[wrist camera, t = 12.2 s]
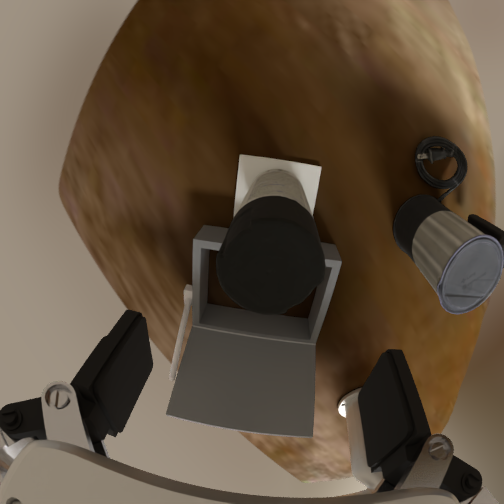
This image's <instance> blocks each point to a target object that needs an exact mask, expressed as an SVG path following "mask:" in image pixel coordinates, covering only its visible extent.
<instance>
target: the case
mask: <svg viewBox="0 0 504 504" xmlns="http://www.w3.org/2000/svg"><path fill="white" fill-rule="evenodd" d="M228 229H229V228H223V227H216V226H209V225H203V227H202V228H201V229H200V231H199V232H198V233H197V235H196V236H195V237H194V239H193V269H192V285H186V287H185V289H184V304H185V307H184V311H183V315H182V319H181V324H180V328H179V332H178V337H177V341H176V346H175V351H174V355H173V360H172V365H171V370H170V375H169V379H170V380H172V381H173V380H174V379H175V376H176V371H177V366H178V361H179V356H180V351H181V347H182V342H183V337H184V333H185V328H186V324H187V319H188V315H189V311H190V306H191V305H192V316H193V325H192V329H191V332H190V335H189V338H188V341H187V345H186V348H185V351H184V354H183V358H182V361H181V364H180V367H179V371H178V374H177V378H176V381H175V385H174V388H173V391H172V395H171V398H170V402H169V405H168V409H167V412H166V415H167V416H170V417H173V418H177V419H181V420H185V421H189V422H194V423H198V424H203V425H207V426H212V427H218V428H223V429H229V430H235V431H241V432H248V433H256V434H265V435H274V436H286V437H303V438H312V437H313V425H314V403H315V358H316V341H317V338H318V335H319V333H320V330H321V327H322V324H323V321H324V318H325V315H326V312H327V309H328V306H329V303H330V300H331V297H332V294H333V290H334V287H335V284H336V281H337V277H338V274H339V270H340V267H341V263H342V260H341V258H340V255H339V252H338V250H337V247H336V245H335V244H329V243H322V242H321V245H322V249H323V253H324V256H325V265H326V268H325V276H324V279H323V281H322V283H321V284H319V285H317V289H316V293H315V296H314V300H313V303H312V307H311V310H310V314H309V317H308V319H307V318H299V317H292V316H284V315H263V314H259V313H254V312H251V311H249V310H243V309H237V308H231V307H225V306H219V305H214V304H208V303H207V297H208V272H209V252H210V249H212V250H218V251H219V249H220V247H221V245H222V243H223V241H224V239H225V236H226V234H227V231H228Z"/></svg>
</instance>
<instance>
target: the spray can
mask: <svg viewBox="0 0 504 504" xmlns="http://www.w3.org/2000/svg"><path fill="white" fill-rule="evenodd" d="M325 268H326V265H325V256H324V253H323V249H322V245H321V242H320V238H319V234H318V230H317V226H316V223H315V221H314V218H313V215H312V212H311V209H310V206H309V203H308V200H307V198H306V195H305V192H304V189H303V186H302V184H301V182H300V181H299V179H298V178H297V177H296V176H295V175H294V174H292V173H291V172H289V171H286V170H283V169H270V170H267V171H264V172H262V173H261V174H260V175H258V176H257V177H256V178H255V180H254V181H253V183H252V184H251V186H250V188H249V190H248V192H247V194H246V196H245V197H244V199H243V201H242V203H241V205H240V207H239V208H238V210H237V212H236V214H235V216H234V218H233V220H232V222H231V225H230V227H229V229H228V231H227V234H226V236H225V239H224V241H223V243H222V245H221V247H220V249H219V252H218V253H217V257H216V272H217V276H218V279H219V282H220V285H221V287H222V289H223V290H224V292H225V293H226V294H227V295H228V296H229V297H230V298H231V299H232V300H233V301H234V302H235V303H236V304H238V305H239V306H241V307H243V308H244V309H246V310H249V311H251V312H254V313H259V314H263V315H278V314H284V313H286V312H287V310H288V309H289V308H291V307H293V306H295V305H298V304H300V303H301V302H303V301H304V300H305V299H306V298H307V297H308V296H309V295H310V294H311V292H312V290H313V289H314V288H315V287H316V286H317V285H319V284H321V283H322V281H323V279H324V276H325Z"/></svg>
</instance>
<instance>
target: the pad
mask: <svg viewBox="0 0 504 504" xmlns="http://www.w3.org/2000/svg"><path fill="white" fill-rule="evenodd" d="M270 169H283V170H286V171H289V172H291V173H292V174H294V175H295V176H296V177H297V178H298V179H299V181H300V182H301V184H302V186H303V189H304V192H305V195H306V198H307V200H308V203H309V206H310V209H311V212H312V215H313V211H314V206H315V201H316V195H317V190H318V184H319V179H320V173H321V166H316V165H310V164H305V163H299V162H293V161H286V160H280V159H273V158H265V157H258V156H250V155H241V154H240V158H239V167H238V176H237V186H236V195H235V205H234V215H233V216H235V214H236V212H237V210H238V208H239V207H240V205H241V203H242V201H243V199H244V197H245V196H246V194H247V192H248V190H249V188H250V186H251V184H252V183H253V181H254V180H255V178H256V177H257V176H258V175H260V174H261V173H262V172H264V171H267V170H270Z"/></svg>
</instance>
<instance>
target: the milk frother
mask: <svg viewBox="0 0 504 504" xmlns="http://www.w3.org/2000/svg"><path fill="white" fill-rule="evenodd" d="M433 146H440V147H441V148H430V147H433ZM442 147H443V148H442ZM444 148H445V149H444ZM446 157H454V158H455V159H456V161H457V165H458V167H457V171H456V173H455V174H454V176H453V177H452V178H450V179H448V180H439V179H436V178H434V177H432V176H431V175H430V174H429V173H428V172H427V171H426V169H425V168H424V165H423V160H424V159H428V160H429V161H430V163H431V164H433V161H436V160H440V159H443V158H444V159H446ZM415 162H416V167H417V170H418V172H419V174H420V176H421V177H422V178H423V179H424V181H425V182H426V183H428V184H429V185H430V186H433V187H435V188H439V189H448V188H450V189H449V190H448V191H447V192H445V193H444V194H442V195H441V196H440V197H439V198H438V199H436V198H435V197H433V196H430V195H417V196H414V197H412V198H410V199H409V200H408V201H406V202H405V203H404V204H403V205H402V206H401V208H400V209H399V211H398V212H397V214H396V217H395V221H394V227H393V233H394V238H395V241H396V243H397V245H398V246H399V248H400V249H401V250H402V251H403V252H405V253H407V254H408V255H409V257H410V258H411V259H412V260H413V261H414V263H415V264H416V265H417V267H418V268H419V269H420V271H421V272H422V274H423V275H424V276H425V278H426V279H427V280H428V282H429V283H430V285H431V286H432V287H433V289H434V290H435V292H436V293H437V295H438V296H439V300H440V303H441V305H442V307H443V308H444V309H445V310H446V311H448V312H449V313H453V314H462V313H466V312H469V311H471V310H473V309H475V308H476V307H478V306H479V305H480V304H482V303H483V302H484V301H485V300H486V299H487V298H488V297H489V296H490V295H491V293H492V292H493V291H494V289H495V287H496V285H497V284H498V281H499V280H500V277H501V273H502V269H503V268H504V231H503V230H501V229H500V228H498V227H496V226H494V225H493V224H491V223H490V222H488V221H486V220H484V219H482V218H481V217H479V216H477V215H474V214H471V215H469V217H468V222H467V221H465V220H464V219H463V218H461V217H460V216H458V215H456V214H455V213H453V212H452V211H450V210H449V209H448V208H446V207H445V206H444V205H442V204H441V201H442V200H443V199H444V198H445V197H446V196H447V195H448V194H449V193H450V192H451V191H453V190H454V189H455V188H456V187H457V186H459V184H461V183H462V181H463V180H464V178H465V176H466V173H467V161H466V158H465V155H464V154H463V152H462V151H461V150H460V149H459V148H458V147H457V146H456V145H455V144H454V143H452V142H451V141H449V140H447V139H445V138H442V137H438V136H433V137H428V138H426V139H424V140H423V141H422V142H420V144H419V145H418V147H417V149H416V154H415Z"/></svg>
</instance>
